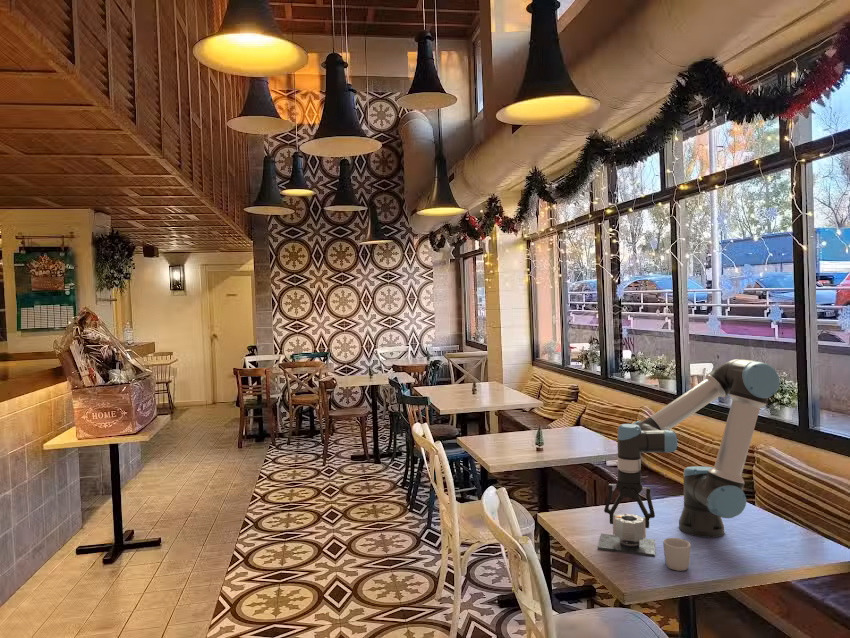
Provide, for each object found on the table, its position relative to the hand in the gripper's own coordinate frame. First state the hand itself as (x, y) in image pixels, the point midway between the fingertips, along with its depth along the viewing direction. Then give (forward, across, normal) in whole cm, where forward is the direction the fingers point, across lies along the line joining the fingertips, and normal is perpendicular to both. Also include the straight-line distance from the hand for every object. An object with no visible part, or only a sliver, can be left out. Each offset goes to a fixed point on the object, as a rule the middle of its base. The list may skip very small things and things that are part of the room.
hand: (629, 535), depth 204 cm
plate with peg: (+4, 0, 0) cm, 4 cm away
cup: (+4, -14, +12) cm, 19 cm away
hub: (0, 0, 0) cm, 0 cm away
